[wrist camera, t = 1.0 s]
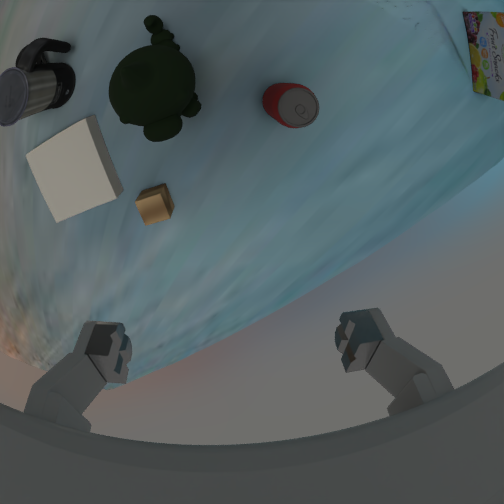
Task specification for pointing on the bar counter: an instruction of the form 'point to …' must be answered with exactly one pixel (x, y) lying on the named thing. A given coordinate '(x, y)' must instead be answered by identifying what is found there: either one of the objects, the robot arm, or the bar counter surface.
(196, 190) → the bar counter surface
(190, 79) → the toy figurine
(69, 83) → the milk frother
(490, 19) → the snack box
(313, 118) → the beer can
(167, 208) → the block
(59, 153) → the cream base
